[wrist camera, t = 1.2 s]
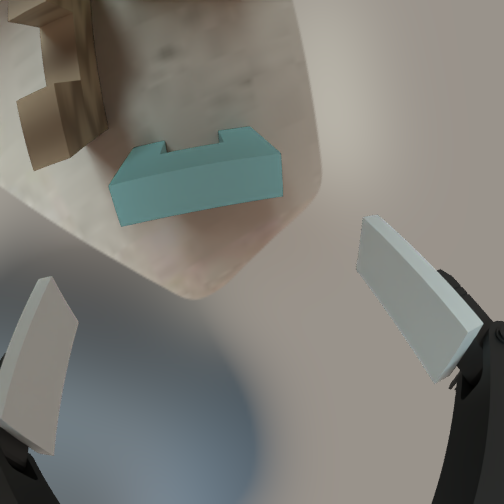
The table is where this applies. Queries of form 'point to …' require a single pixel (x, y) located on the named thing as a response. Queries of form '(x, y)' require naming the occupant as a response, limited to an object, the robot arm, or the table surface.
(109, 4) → the table surface
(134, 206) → the notched teal block
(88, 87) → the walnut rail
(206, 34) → the table surface
